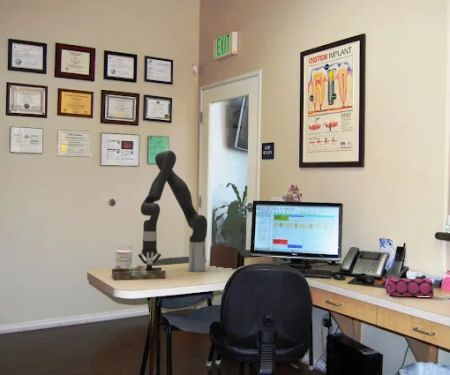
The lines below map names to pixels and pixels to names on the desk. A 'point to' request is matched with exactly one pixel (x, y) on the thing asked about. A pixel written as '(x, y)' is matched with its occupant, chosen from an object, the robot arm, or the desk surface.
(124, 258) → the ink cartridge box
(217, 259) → the letter holder
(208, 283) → the desk surface
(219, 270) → the desk surface
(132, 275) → the tunnel deck
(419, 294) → the pencil case
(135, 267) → the maple block
